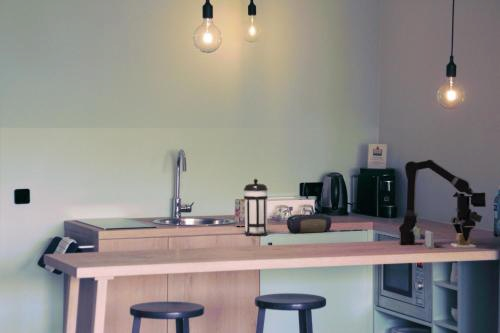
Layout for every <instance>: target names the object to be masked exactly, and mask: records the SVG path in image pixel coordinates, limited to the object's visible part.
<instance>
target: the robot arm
mask: <svg viewBox="0 0 500 333" xmlns="http://www.w3.org/2000/svg"><path fill="white" fill-rule="evenodd" d="M404 169H405V176H406V180H407V189H406V190H407V194H406V211H405V214H404V217H403V223H401V224H402V225H401V226H399V227H398V230H399V232H398V233H399V234H398V235H399V238H398V239H399V242H398V244H399V245H401V246H403V245H404V246H405V245H407V244H416V239H415V235H414V231H413V228H414V227H415V226H416V225H417V226H418V223H419V222H420V220H419V218H420V217H419V216H420V213H419V212H418V213H417V211H416V210H417V209H416V203H417V202H416V197H417V193H416V192H417V180H418V176H419V171H420V170H424V169H430V171H432V172H434V173H435V174H438V176H440V177H441V178H443V179H445V180H446V181H448V182H449V183H450V184H451V185H452V186H453V187H454V188H455V189H456V190H457V191H455V193H454V194H453V195H452V198H456V208H455V211H456V216H453V217H452V218H451V221H450V222H451V224H452V226H453V228H454V230H455V232H456V233H462V234H463V237H464V240H465V241H468V237H469V234H470V233H471V231H472V229H474V228H475V227H476V225H477V224H476V222H477V223H481V220H482V218H483V216H482V215H480V214H478V213H477V211H472V209H471V208H470V206H471V205H472V206H473V207H474V208H486V207H487V195H486V191H485V192H483V191H482V192H474V190H473V189H472V188H471V183H470V181H468V180H467V179H464V178H463V177H460V176H457V175H456V174H453V173H452V172H450V171H449V170H447V169H446V168H444V167H443V166H442V165H440V164H438V163H437V162H435V160H433V159H427V160H422V161H416V160H414V161H413V160H412V161H408V162H406V164H405V166H404ZM459 192H460V193H459ZM456 233H455V234H456ZM470 235H471V234H470ZM407 246H408V245H407Z"/></svg>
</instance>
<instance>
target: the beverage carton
mask: <svg viewBox="0 0 500 333" xmlns="http://www.w3.org/2000/svg"><path fill="white" fill-rule="evenodd" d="M402 224H403V223H401V224H399V225H400V226H401V225H402ZM400 226H399V227H400ZM413 231H414V235H415V240H417V239H418V240H421V234H422V233H421V228H420V226H419V225H418V224H417V225H416V226H415V227H414V228H413Z"/></svg>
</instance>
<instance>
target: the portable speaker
mask: <svg viewBox="0 0 500 333" xmlns="http://www.w3.org/2000/svg"><path fill="white" fill-rule="evenodd" d="M286 227H287V229H288V231H289V232H290V233H292V234H308V233H309V234H310V233H314V234H315V233H326V232H329V231H330V230H331V227H332V217H331V216H330V215H329V214H327V213H326V214H325V213H316V214H314V213H313V214H294V215H291V216H289V217H288V218H287V220H286Z"/></svg>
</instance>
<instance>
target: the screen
mask: <svg viewBox="0 0 500 333" xmlns="http://www.w3.org/2000/svg"><path fill="white" fill-rule="evenodd" d="M434 236H435V235H434V232H432V231H430V230H424V243H423V246H424V245H426V247H428V249H436V246H435V245H434V240H435V238H434Z"/></svg>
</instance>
